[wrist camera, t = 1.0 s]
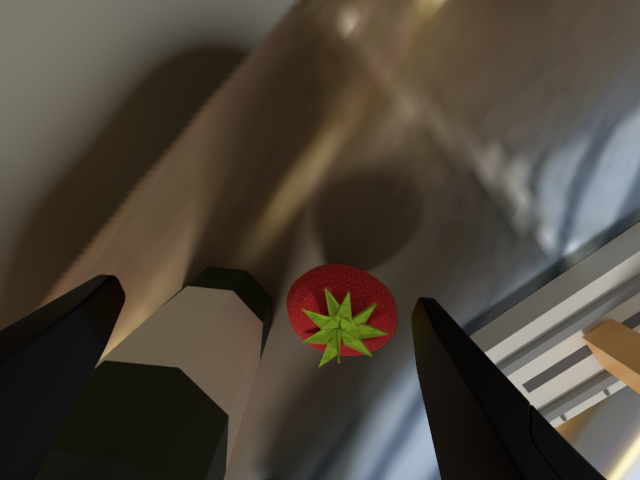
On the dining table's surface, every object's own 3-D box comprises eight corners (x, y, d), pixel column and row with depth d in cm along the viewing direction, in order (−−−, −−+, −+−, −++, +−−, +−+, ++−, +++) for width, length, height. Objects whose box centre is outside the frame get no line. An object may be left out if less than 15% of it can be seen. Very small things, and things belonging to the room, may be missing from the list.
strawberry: (369, 321, 26) (398, 412, 17) (285, 300, 26) (264, 380, 16) (391, 259, 25) (436, 318, 15) (303, 235, 25) (292, 280, 15)
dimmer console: (507, 422, 29) (529, 451, 26) (448, 350, 27) (464, 373, 24) (710, 298, 26) (762, 315, 23) (659, 207, 24) (708, 213, 21)
